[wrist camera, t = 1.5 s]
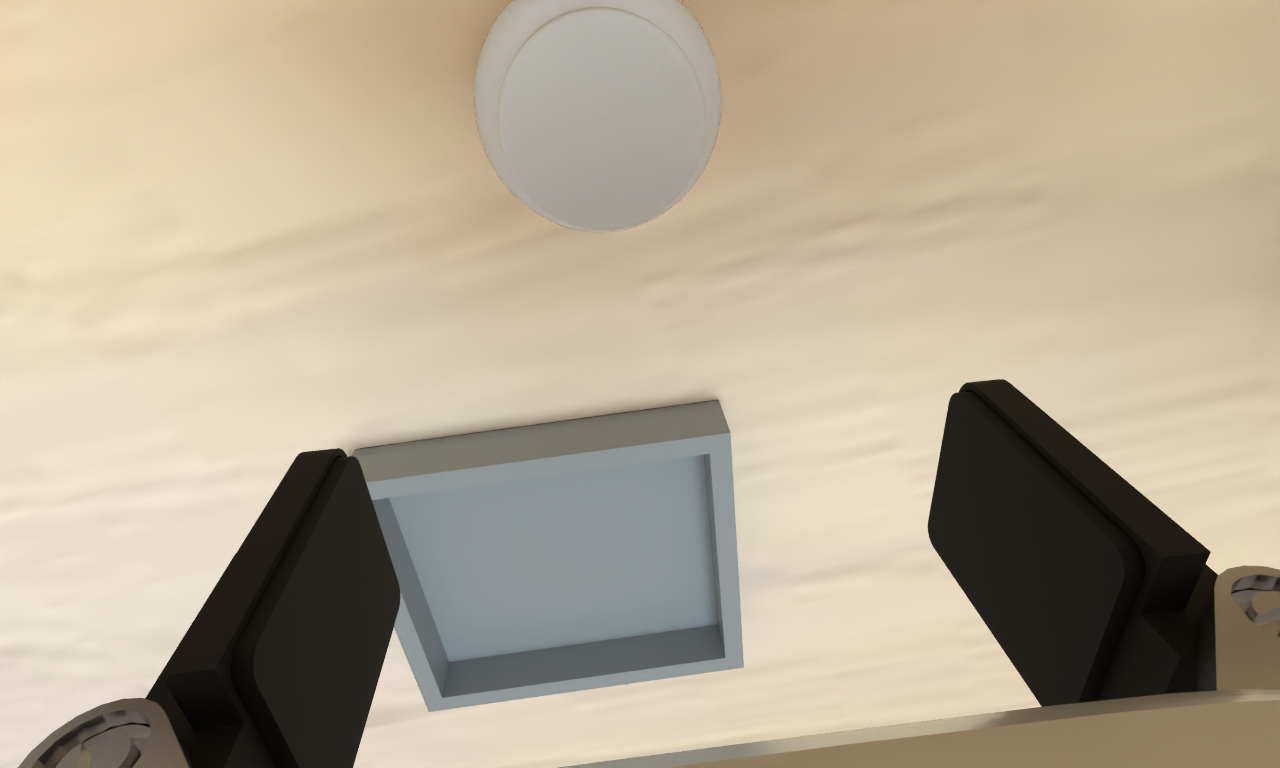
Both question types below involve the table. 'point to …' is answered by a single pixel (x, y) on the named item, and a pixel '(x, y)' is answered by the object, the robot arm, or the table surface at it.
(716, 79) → the supplement bottle
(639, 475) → the tray
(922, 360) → the table surface
